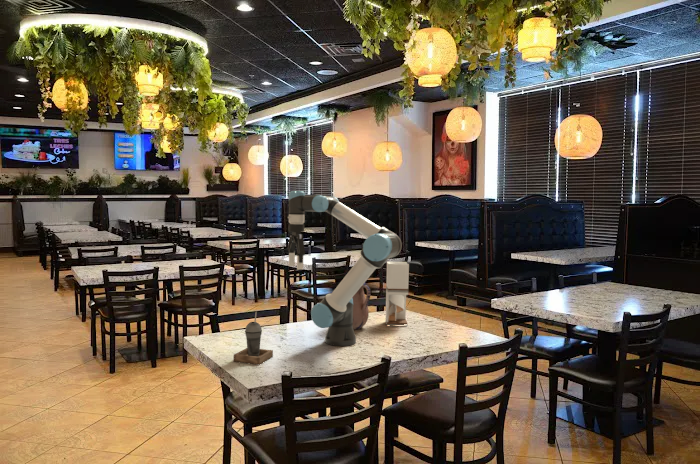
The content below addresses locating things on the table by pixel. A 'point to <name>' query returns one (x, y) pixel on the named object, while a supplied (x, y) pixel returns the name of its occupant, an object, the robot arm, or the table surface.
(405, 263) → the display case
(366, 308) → the ceramic pitcher
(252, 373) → the table surface
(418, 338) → the table surface
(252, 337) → the beverage cup
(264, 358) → the wooden tray
